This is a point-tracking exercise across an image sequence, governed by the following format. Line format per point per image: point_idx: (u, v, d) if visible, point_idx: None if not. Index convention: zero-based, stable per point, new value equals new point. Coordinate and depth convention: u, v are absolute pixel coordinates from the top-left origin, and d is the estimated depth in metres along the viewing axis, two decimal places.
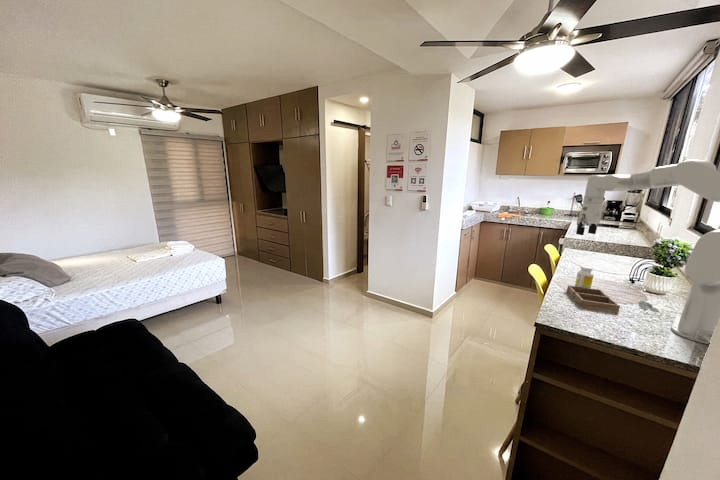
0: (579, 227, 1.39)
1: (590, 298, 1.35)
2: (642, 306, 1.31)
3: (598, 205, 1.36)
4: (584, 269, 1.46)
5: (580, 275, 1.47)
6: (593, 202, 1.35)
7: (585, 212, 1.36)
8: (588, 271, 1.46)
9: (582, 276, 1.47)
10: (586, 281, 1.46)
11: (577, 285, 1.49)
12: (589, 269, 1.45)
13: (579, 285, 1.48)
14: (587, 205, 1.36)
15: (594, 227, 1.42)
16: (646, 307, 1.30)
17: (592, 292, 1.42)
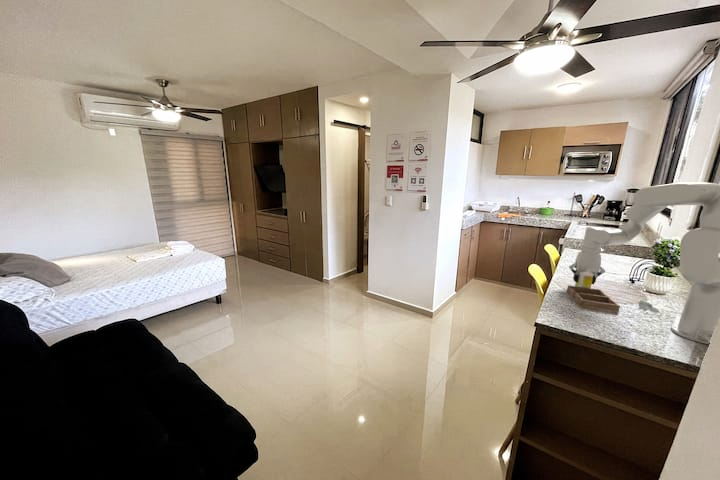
0: None
1: (590, 298, 1.35)
2: (642, 306, 1.31)
3: None
4: None
5: (580, 275, 1.47)
6: None
7: None
8: (588, 271, 1.46)
9: (582, 276, 1.47)
10: (586, 281, 1.46)
11: (577, 285, 1.49)
12: (589, 269, 1.45)
13: (579, 285, 1.48)
14: None
15: None
16: (646, 307, 1.30)
17: (592, 292, 1.42)
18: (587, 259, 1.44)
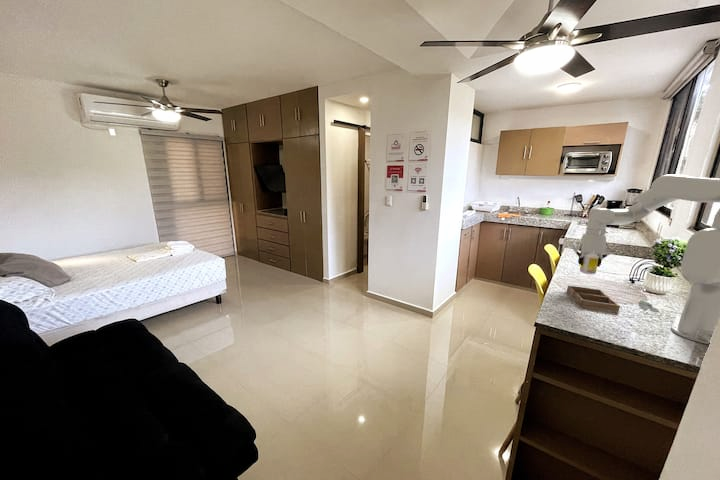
0: None
1: (590, 298, 1.35)
2: (642, 306, 1.31)
3: None
4: None
5: (585, 257, 1.45)
6: None
7: None
8: (593, 253, 1.43)
9: (587, 259, 1.44)
10: (591, 263, 1.43)
11: (583, 268, 1.46)
12: (594, 251, 1.42)
13: (584, 268, 1.45)
14: None
15: None
16: (646, 307, 1.30)
17: (592, 292, 1.42)
18: (592, 240, 1.42)
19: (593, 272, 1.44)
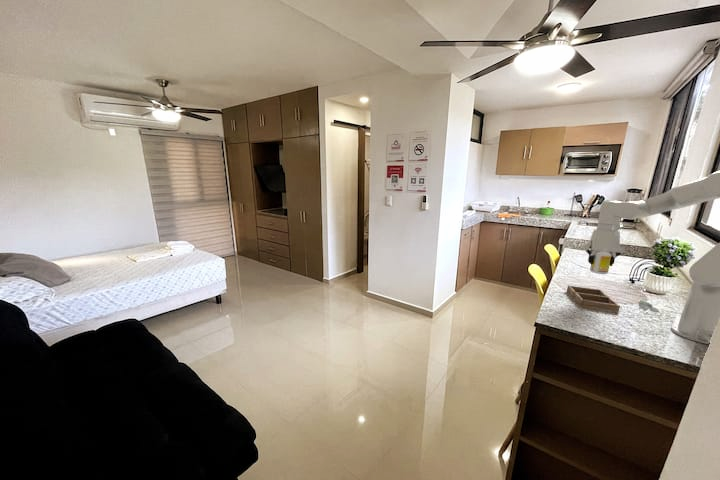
0: None
1: (590, 298, 1.35)
2: (642, 306, 1.31)
3: None
4: None
5: (596, 255, 1.30)
6: None
7: None
8: (605, 251, 1.29)
9: (598, 257, 1.30)
10: (602, 261, 1.29)
11: (593, 267, 1.32)
12: None
13: (595, 267, 1.31)
14: None
15: None
16: (646, 307, 1.30)
17: (592, 292, 1.42)
18: (604, 237, 1.27)
19: (605, 272, 1.29)
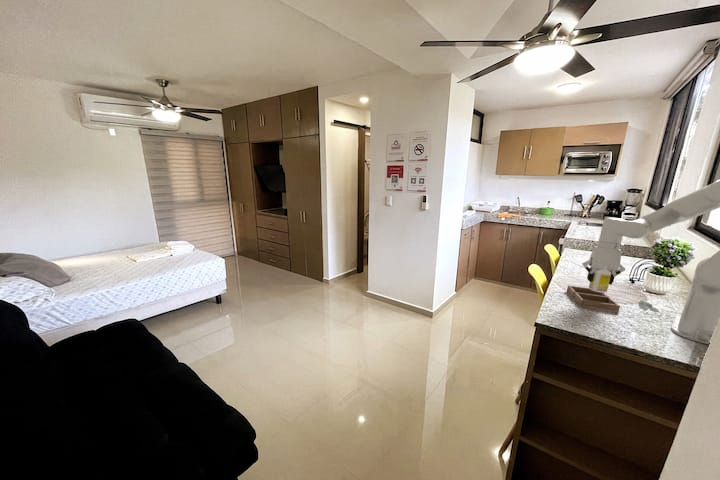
0: None
1: (590, 298, 1.35)
2: (642, 306, 1.31)
3: None
4: None
5: (596, 273, 1.27)
6: None
7: None
8: (605, 269, 1.25)
9: (598, 275, 1.26)
10: (602, 280, 1.25)
11: (592, 285, 1.29)
12: (606, 267, 1.25)
13: (594, 285, 1.28)
14: None
15: None
16: (646, 307, 1.30)
17: (592, 292, 1.42)
18: (605, 255, 1.24)
19: (604, 290, 1.26)
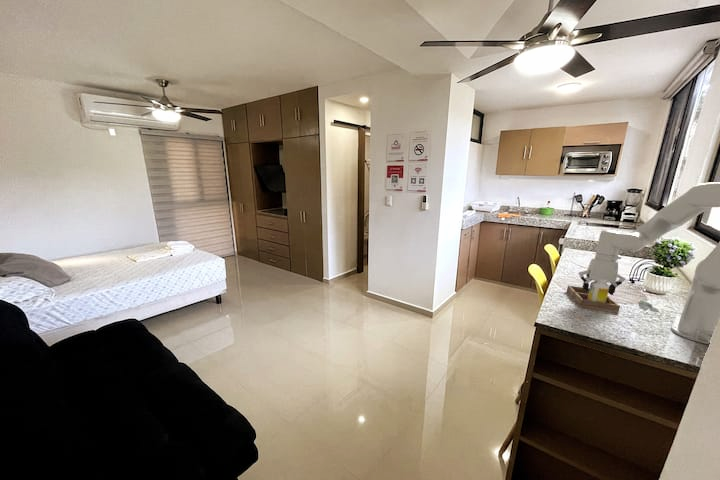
0: None
1: None
2: (642, 306, 1.31)
3: None
4: None
5: (594, 287, 1.28)
6: None
7: None
8: (603, 283, 1.26)
9: (596, 289, 1.27)
10: (600, 294, 1.27)
11: (591, 299, 1.30)
12: (604, 281, 1.26)
13: (592, 299, 1.29)
14: None
15: None
16: (646, 307, 1.30)
17: None
18: (602, 267, 1.25)
19: None
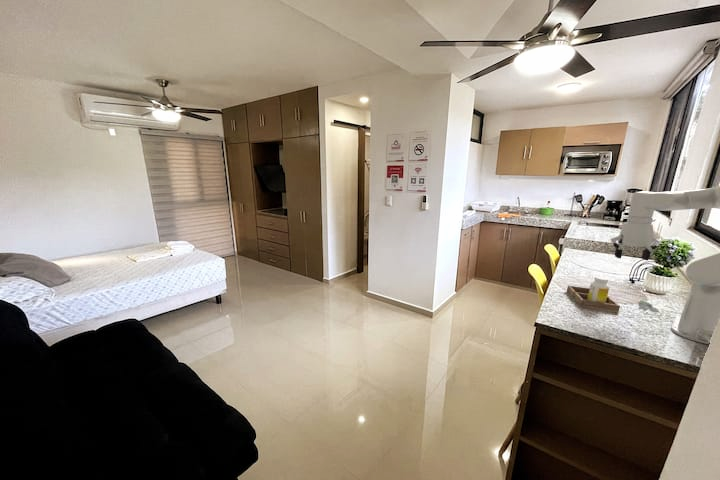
0: None
1: None
2: (642, 306, 1.31)
3: None
4: (598, 280, 1.27)
5: (594, 287, 1.28)
6: None
7: None
8: (603, 283, 1.26)
9: (596, 289, 1.28)
10: (600, 294, 1.27)
11: (591, 299, 1.30)
12: (604, 281, 1.26)
13: (593, 299, 1.29)
14: None
15: None
16: (646, 307, 1.30)
17: None
18: (637, 231, 1.19)
19: None
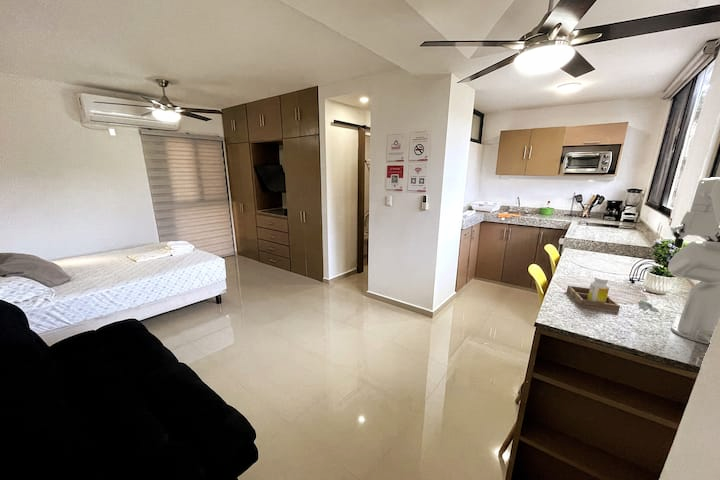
0: None
1: None
2: (642, 306, 1.31)
3: None
4: (598, 280, 1.27)
5: (594, 287, 1.28)
6: None
7: None
8: (603, 283, 1.26)
9: (596, 289, 1.27)
10: (600, 294, 1.27)
11: (591, 299, 1.30)
12: (604, 281, 1.26)
13: (593, 299, 1.29)
14: None
15: None
16: (646, 307, 1.30)
17: None
18: (702, 219, 1.14)
19: None
